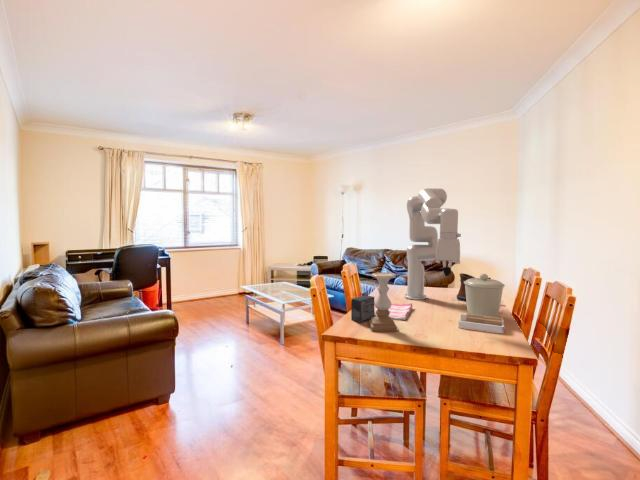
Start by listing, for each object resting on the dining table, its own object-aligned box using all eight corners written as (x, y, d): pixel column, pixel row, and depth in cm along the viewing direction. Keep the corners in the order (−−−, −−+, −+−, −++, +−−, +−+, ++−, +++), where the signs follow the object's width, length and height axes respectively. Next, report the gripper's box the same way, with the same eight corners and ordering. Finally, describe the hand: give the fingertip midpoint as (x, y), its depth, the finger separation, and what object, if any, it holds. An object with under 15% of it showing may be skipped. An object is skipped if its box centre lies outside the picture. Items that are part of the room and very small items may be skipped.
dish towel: (413, 309, 187) (413, 302, 186) (405, 322, 165) (405, 314, 165) (381, 306, 193) (381, 299, 193) (370, 317, 172) (370, 310, 172)
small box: (364, 315, 174) (364, 294, 173) (375, 318, 169) (375, 296, 169) (350, 319, 167) (350, 298, 166) (361, 323, 162) (361, 300, 161)
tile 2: (483, 325, 160) (484, 315, 159) (501, 327, 157) (501, 317, 156) (483, 329, 154) (483, 319, 153) (501, 332, 150) (501, 322, 150)
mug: (491, 300, 203) (492, 274, 202) (488, 304, 194) (489, 278, 193) (458, 296, 213) (459, 271, 212) (454, 300, 204) (454, 274, 203)
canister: (507, 316, 173) (509, 273, 171) (496, 324, 160) (498, 278, 158) (469, 309, 185) (471, 269, 183) (456, 316, 172) (458, 274, 170)
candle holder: (368, 323, 161) (369, 271, 159) (392, 323, 161) (393, 272, 159) (371, 331, 150) (372, 276, 148) (397, 332, 150) (398, 276, 148)
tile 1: (467, 322, 163) (467, 313, 163) (483, 325, 160) (484, 315, 160) (465, 327, 157) (466, 317, 156) (483, 329, 154) (483, 319, 153)
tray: (460, 319, 167) (461, 313, 167) (503, 325, 159) (503, 318, 159) (458, 327, 156) (458, 321, 155) (503, 334, 148) (504, 327, 147)
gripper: (466, 236, 161) (465, 275, 162) (432, 234, 167) (431, 273, 169) (465, 237, 154) (464, 278, 156) (430, 236, 160) (429, 275, 162)
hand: (447, 275), depth 162 cm, fingers closed
